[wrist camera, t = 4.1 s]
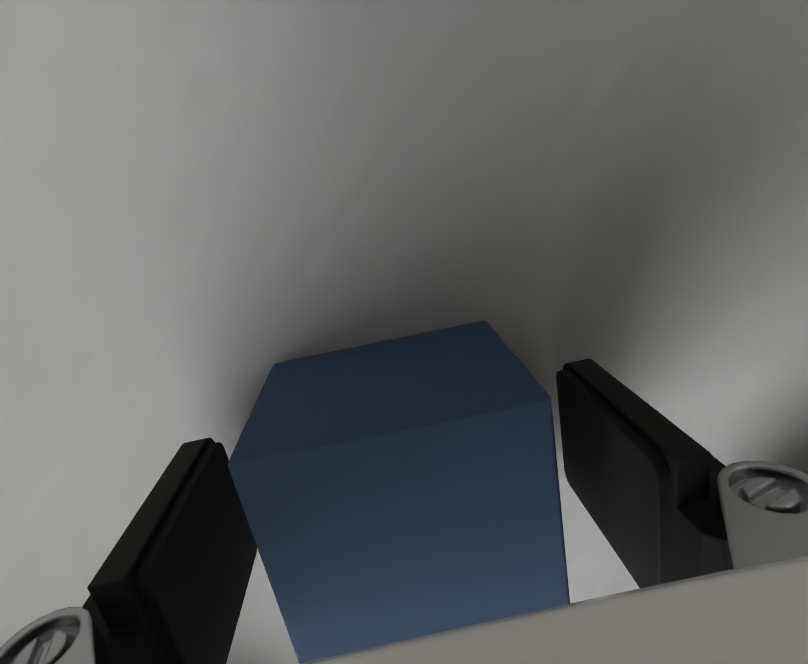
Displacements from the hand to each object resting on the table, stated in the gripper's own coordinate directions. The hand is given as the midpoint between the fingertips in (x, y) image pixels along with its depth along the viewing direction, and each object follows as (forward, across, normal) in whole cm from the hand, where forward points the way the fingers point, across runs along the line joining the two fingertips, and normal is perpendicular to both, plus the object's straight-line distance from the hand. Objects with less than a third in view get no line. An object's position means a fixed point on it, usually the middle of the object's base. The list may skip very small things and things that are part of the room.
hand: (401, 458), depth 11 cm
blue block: (+1, 0, 0) cm, 1 cm away
